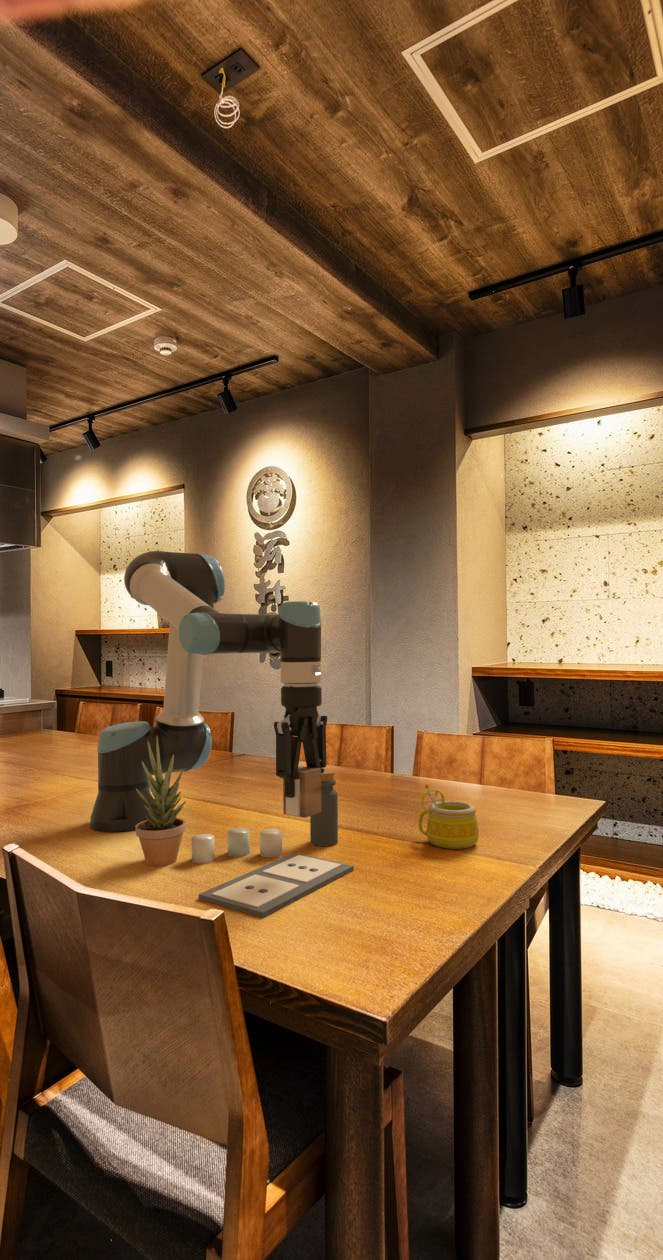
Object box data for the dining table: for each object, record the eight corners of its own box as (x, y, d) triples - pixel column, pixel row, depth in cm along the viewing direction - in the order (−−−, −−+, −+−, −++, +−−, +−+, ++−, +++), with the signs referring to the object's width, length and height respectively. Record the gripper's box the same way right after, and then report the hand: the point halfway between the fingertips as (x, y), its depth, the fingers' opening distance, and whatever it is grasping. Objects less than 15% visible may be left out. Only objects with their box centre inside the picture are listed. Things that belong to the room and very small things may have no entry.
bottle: (335, 847, 140) (334, 774, 140) (307, 845, 141) (307, 773, 142) (340, 839, 146) (339, 769, 146) (313, 837, 147) (313, 768, 147)
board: (198, 898, 113) (198, 892, 113) (294, 856, 134) (293, 851, 134) (263, 917, 105) (263, 910, 105) (353, 870, 126) (353, 864, 126)
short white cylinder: (255, 855, 135) (255, 832, 136) (269, 849, 139) (269, 827, 139) (272, 859, 133) (272, 836, 133) (286, 853, 137) (286, 830, 137)
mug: (484, 839, 145) (483, 783, 145) (472, 854, 135) (471, 794, 135) (426, 833, 150) (425, 778, 150) (410, 846, 140) (410, 788, 140)
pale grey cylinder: (186, 861, 132) (186, 838, 132) (203, 855, 136) (202, 832, 136) (203, 865, 130) (203, 841, 130) (219, 858, 133) (219, 836, 134)
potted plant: (132, 857, 135) (132, 733, 135) (180, 850, 139) (180, 730, 139) (139, 872, 126) (138, 739, 126) (190, 865, 129) (190, 736, 130)
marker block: (283, 814, 124) (282, 770, 124) (299, 808, 128) (299, 766, 128) (305, 817, 121) (304, 772, 122) (321, 811, 125) (320, 768, 126)
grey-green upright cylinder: (223, 854, 136) (223, 831, 136) (237, 848, 140) (237, 826, 140) (239, 858, 134) (239, 835, 134) (254, 852, 138) (254, 829, 138)
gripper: (287, 688, 116) (288, 825, 115) (344, 682, 131) (346, 804, 130) (253, 687, 120) (254, 819, 119) (313, 681, 135) (314, 799, 134)
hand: (302, 811), depth 125 cm, fingers closed on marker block, 5 cm apart
